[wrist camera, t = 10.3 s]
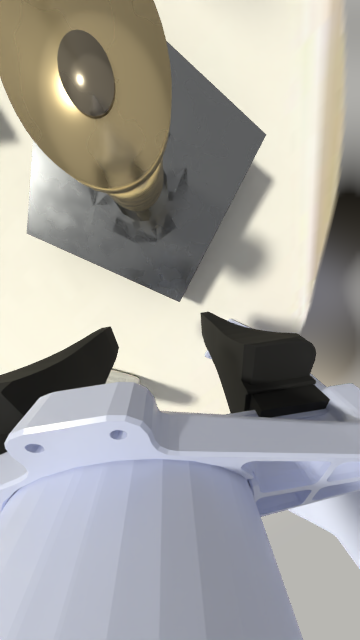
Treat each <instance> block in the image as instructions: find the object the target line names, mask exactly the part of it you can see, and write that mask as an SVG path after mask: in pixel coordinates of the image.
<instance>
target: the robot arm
mask: <svg viewBox="0 0 360 640" xmlns="http://www.w3.org/2000/svg"><path fill="white" fill-rule="evenodd" d="M201 325H202V336H203V339H204V342H205V345H206V347H207V349H208V350H207V351H206V353H205V357H207V358H209V359H212V360H213V362H214V364H215V367H216V369H217V372H218V375H219V378H220V381H221V384H222V387H223V390H224V393H225V396H226V399H227V403H228V406H229V409H230V412H231V413H230V414H226V415H219V414H203V413H186V412H170V411H160V410H159V409H158V407H157V404H156V401H155V398H154V396H153V395H152V393H151V392H150V391H149V390H148V388H146V387H144V386H142V385H140V384H137V383H135V382H115V383H108V384H105V383H106V381H107V379H108V376H109V374H110V372H111V369H112V367H113V365H114V362H115V360H116V357H117V353H118V349H119V347H118V344H117V341H116V339H115V336H114V334H113V331H112V329H111V327H105V328H101V329H99V330H97V331H95V332H94V333H92V334H90V335H88V336H87V337H85V338H83V339H82V340H80V341H78V342H77V343H75V344H73V345H71V346H69V347H68V348H66V349H64V350H62V351H60V352H58V353H56V354H54V355H52V356H50V357H47V358H45V359H43V360H40V361H38V362H36V363H33V364H31V365H28V366H26V367H23V368H20V369H17V370H15V371H12V372H9V373H6V374H3V375H0V640H303V638H302V635H301V632H300V629H299V626H298V624H297V621H296V618H295V615H294V612H293V609H292V606H291V603H290V601H289V597H288V595H287V592H286V589H285V586H284V583H283V580H282V578H281V574H280V572H279V569H278V566H277V563H276V560H275V557H274V554H273V551H272V549H271V545H270V543H269V540H268V537H267V534H266V531H265V528H264V525H263V522H262V520H261V517H262V516H266V515H270V514H273V513H277V512H281V511H284V510H289V511H290V512H292V513H294V514H296V515H298V516H299V517H302V518H303V519H305V520H308V521H309V522H311V523H313V524H315V525H317V526H319V527H321V528H323V529H325V530H326V531H328V532H330V533H332V534H333V535H334V536H336V537H337V538H338V540H339V541H340V542H341V544H342V545H343V547H344V548H345V550H346V551H347V552H348V554H349V555H350V556H351V558H352V559H353V561H354V562H355V564H356V565H357V566H358V568H359V569H360V389H359V388H358V387H357V386H355V385H354V384H353V383H347V384H341V385H334V386H329V387H326V386H325V385H323V384H322V383H321V382H320V381H319V380H318V379H317V378H315V377H314V376H313V375H312V374H311V373H310V372H311V369H312V367H313V364H314V361H315V356H316V350H315V347H314V346H313V344H312V343H310V342H309V341H307V340H305V339H304V338H303V337H301V336H300V335H299V334H296V333H278V332H269V331H262V330H256V329H252V328H250V327H247V326H245V325H243V324H241V323H239V322H237V321H234V320H232V319H229V320H228V321H227V320H224V319H222V318H220V317H218V316H216V315H214V314H212V313H210V312H203V313H201Z"/></svg>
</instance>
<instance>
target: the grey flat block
mask: <svg viewBox="0 0 360 640" xmlns="http://www.w3.org/2000/svg"><path fill="white" fill-rule="evenodd" d="M166 43H167V48H168V54H169V59H170V68H171V79H172V102H171V123H170V132H169V137H168V142H167V146H166V149H165V152H164V155H163V176H164V179H163V187H162V191H161V194H160V196H159V198H158V200H157V201H156V202H155V204H154V205H152V206H151V207H150V208H148V209H146V210H143V211H131V210H128V209H126V208H123V207H122V206H120V205H119V204H118V203H117V202H116V201H114V200H113V199H112V198H111V197H110V196H109V195H108V194H106V193H103V192H99V191H96V190H93V189H91V188H89V187H87V186H85V185H83V184H82V183H80V182H79V181H77V180H76V179H74V178H73V177H71V176H70V175H69V174H67V173H66V172H65V171H63V170H62V169H61V168H60V167H58V166H57V165H56V164H55V163H54V162H53V161H52V160H51V159H49V158H48V157H47V156H46V155H45V154H44V152H43V151H42V150H41V149H40V148H39V147H38V145H37V144H36V143H35V142H34V140H33V151H32V165H31V180H30V194H29V209H28V223H27V234H29V235H32V236H34V237H36V238H38V239H41V240H43V241H45V242H47V243H49V244H52V245H54V246H56V247H58V248H61V249H63V250H65V251H67V252H69V253H72V254H74V255H76V256H78V257H81V258H83V259H85V260H87V261H89V262H92V263H94V264H96V265H98V266H101V267H103V268H105V269H107V270H109V271H112V272H114V273H116V274H118V275H121V276H123V277H125V278H127V279H130V280H132V281H134V282H136V283H138V284H141V285H143V286H145V287H147V288H150V289H152V290H154V291H156V292H158V293H161V294H163V295H165V296H167V297H170V298H172V299H174V300H176V301H178V302H180V300H181V299H182V297H183V295H184V293H185V291H186V289H187V287H188V285H189V283H190V281H191V279H192V277H193V275H194V273H195V271H196V270H197V268H198V266H199V264H200V262H201V260H202V258H203V256H204V254H205V252H206V250H207V248H208V246H209V244H210V242H211V240H212V239H213V237H214V235H215V233H216V231H217V229H218V227H219V225H220V223H221V221H222V219H223V217H224V215H225V213H226V211H227V210H228V208H229V206H230V204H231V202H232V200H233V198H234V196H235V194H236V192H237V190H238V188H239V186H240V184H241V182H242V180H243V179H244V177H245V175H246V173H247V171H248V169H249V167H250V165H251V163H252V161H253V159H254V157H255V155H256V153H257V151H258V150H259V148H260V146H261V144H262V142H263V140H264V138H265V136H266V134H265V133H264V132H263V131H262V130H261V129H260V128H259V127H258V126H256V125H255V124H254V123H253V122H252V121H251V120H250V119H249V118H248V117H247V116H246V115H245V114H244V113H243V112H242V111H240V110H239V109H238V108H237V107H236V106H235V105H234V104H233V103H232V102H231V101H230V100H229V99H228V98H227V97H226V96H225V95H223V94H222V93H221V92H220V91H219V90H218V89H217V88H216V87H215V86H214V85H213V84H212V83H211V82H210V81H209V80H207V79H206V78H205V77H204V76H203V75H202V74H201V73H200V72H199V71H198V70H197V69H196V68H195V67H194V66H193V65H191V64H190V63H189V62H188V61H187V60H186V59H185V58H184V57H183V56H182V55H181V54H180V53H179V52H178V51H177V50H175V49H174V48H173V47H172V46H171V45H170V44H169V43H168V42H167V41H166Z"/></svg>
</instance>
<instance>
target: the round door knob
mask: <svg viewBox="0 0 360 640" xmlns="http://www.w3.org/2000/svg"><path fill="white" fill-rule="evenodd" d="M0 77H1V80H2V83H3V86H4V88H5V90H6V93H7V95H8V98H9V100H10V102H11V104H12V106H13V108H14V110H15V112H16V114H17V116H18V117H19V119H20V121H21V122H22V124H23V126H24V127H25V129H26V131H27V132H28V133H29V135H30V136H31V138H32V139H33V140H34V142H35V143H36V144H37V145H38V147H39V148H40V149H41V150H42V151H43V152H44V154H45V155H46V156H47V157H48V158H49V159H51V160H52V161H53V162H54V163H55V164H56V165H57V166H58V167H60V168H61V169H62V170H63V171H65V172H66V173H67V174H69V175H70V176H71V177H73V178H74V179H76V180H77V181H79V182H80V183H82V184H83V185H85V186H87V187H89V188H91V189H93V190H96V191H99V192H103V193H106V194H108V195H109V196H110V197H111V198H112V199H113V200H114V201H116V202H117V203H118V204H119V205H120V206H122V207H123V208H126V209H128V210H131V211H143V210H146V209H148V208H150V207H151V206H152V205H154V204H155V202H156V201H157V200H158V198H159V196H160V194H161V191H162V187H163V179H164V176H163V155H164V152H165V149H166V146H167V142H168V137H169V132H170V123H171V102H172V79H171V68H170V59H169V54H168V48H167V43H166V39H165V35H164V31H163V27H162V23H161V20H160V17H159V14H158V12H157V9H156V6H155V3H154V1H153V0H0Z"/></svg>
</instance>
